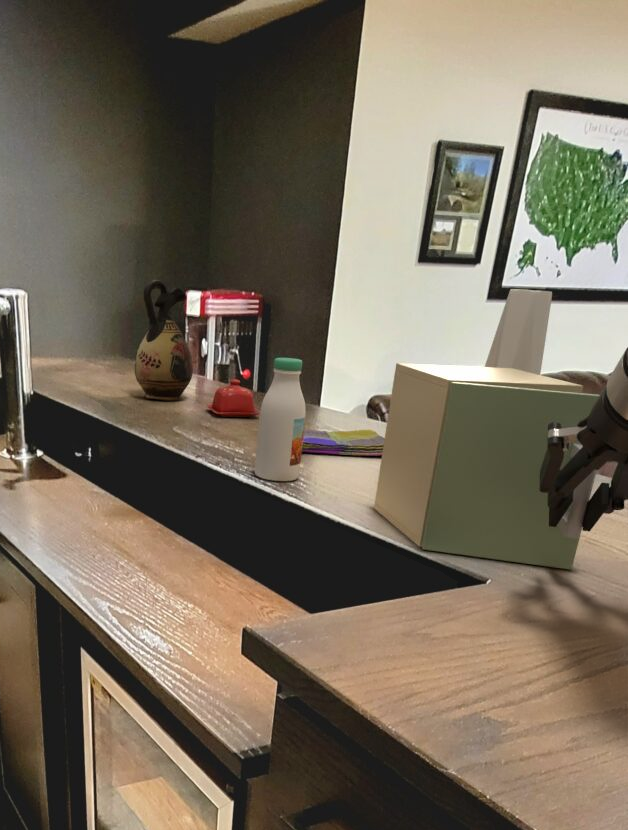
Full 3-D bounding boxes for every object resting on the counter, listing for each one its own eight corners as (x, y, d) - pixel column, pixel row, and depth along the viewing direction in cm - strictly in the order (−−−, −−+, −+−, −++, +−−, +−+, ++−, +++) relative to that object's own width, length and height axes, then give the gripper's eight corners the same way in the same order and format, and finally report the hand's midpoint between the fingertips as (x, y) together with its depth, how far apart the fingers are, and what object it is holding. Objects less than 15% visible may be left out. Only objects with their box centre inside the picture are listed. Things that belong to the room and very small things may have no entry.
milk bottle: (275, 484, 120) (288, 362, 113) (244, 473, 125) (255, 356, 119) (308, 479, 124) (322, 361, 118) (276, 468, 130) (288, 355, 123)
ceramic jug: (169, 392, 203) (175, 280, 193) (202, 401, 191) (210, 283, 182) (117, 394, 193) (120, 277, 184) (148, 405, 182) (154, 280, 172)
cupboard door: (584, 588, 85) (632, 405, 78) (425, 565, 89) (457, 389, 82) (569, 567, 91) (613, 395, 84) (421, 546, 95) (451, 381, 88)
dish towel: (263, 433, 158) (264, 421, 157) (373, 439, 158) (375, 427, 157) (274, 452, 141) (275, 439, 140) (397, 459, 142) (399, 445, 141)
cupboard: (544, 548, 98) (583, 385, 91) (419, 547, 95) (449, 380, 88) (483, 510, 113) (512, 368, 106) (373, 508, 110) (396, 363, 103)
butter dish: (204, 409, 181) (206, 375, 178) (248, 410, 183) (251, 376, 180) (214, 418, 170) (217, 382, 168) (261, 419, 173) (265, 383, 170)
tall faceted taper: (445, 472, 134) (479, 287, 123) (471, 463, 142) (505, 288, 131) (511, 488, 126) (553, 291, 116) (535, 477, 134) (577, 293, 123)
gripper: (551, 424, 64) (494, 537, 85) (760, 443, 60) (647, 557, 80) (553, 357, 67) (497, 482, 88) (751, 371, 63) (644, 499, 84)
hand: (569, 518), depth 84 cm, fingers open, 3 cm apart
